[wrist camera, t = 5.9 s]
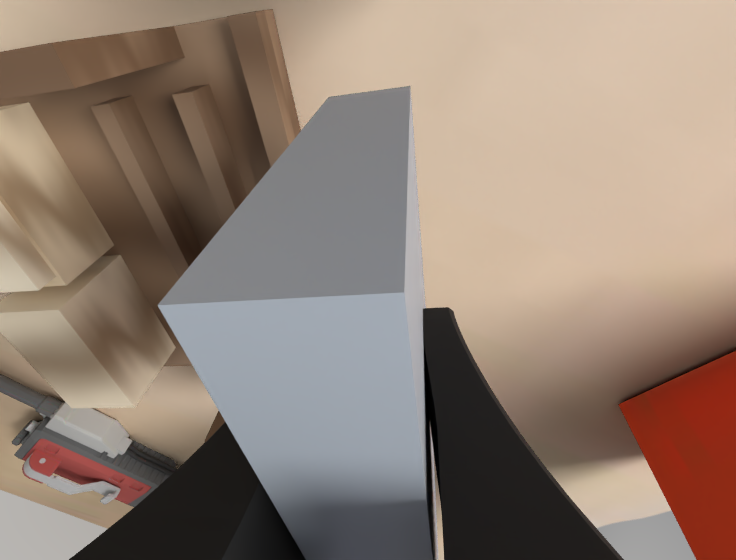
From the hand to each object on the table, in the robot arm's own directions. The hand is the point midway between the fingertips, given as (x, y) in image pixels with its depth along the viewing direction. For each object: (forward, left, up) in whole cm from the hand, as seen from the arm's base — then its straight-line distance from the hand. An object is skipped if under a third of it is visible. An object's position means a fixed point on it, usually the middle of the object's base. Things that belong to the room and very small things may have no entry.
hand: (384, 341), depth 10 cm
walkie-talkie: (-19, +30, -11) cm, 37 cm away
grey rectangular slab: (0, 0, -3) cm, 3 cm away
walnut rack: (-2, +12, -10) cm, 16 cm away
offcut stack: (-2, +17, -9) cm, 20 cm away
